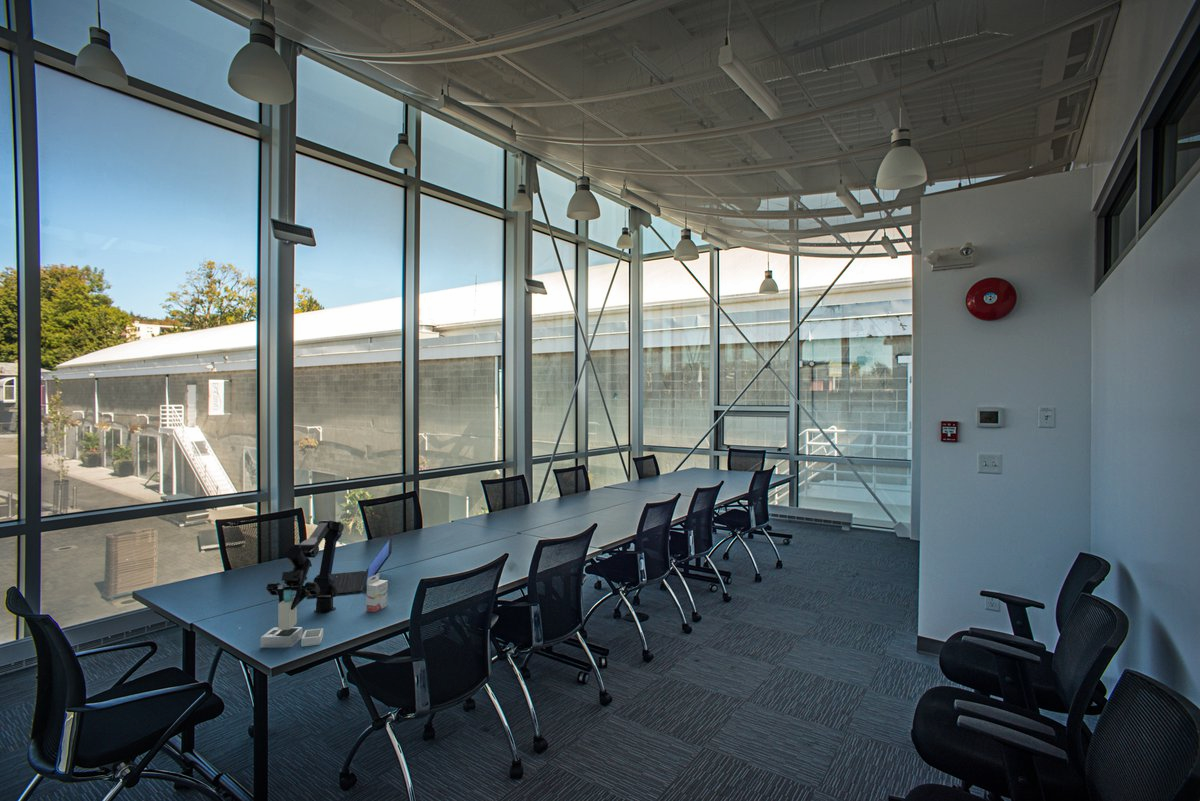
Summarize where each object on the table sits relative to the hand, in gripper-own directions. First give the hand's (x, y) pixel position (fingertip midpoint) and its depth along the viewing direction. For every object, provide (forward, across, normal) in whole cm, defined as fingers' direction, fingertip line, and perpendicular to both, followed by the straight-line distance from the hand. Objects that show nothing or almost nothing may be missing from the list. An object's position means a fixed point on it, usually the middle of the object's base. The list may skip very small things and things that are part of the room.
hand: (285, 609), depth 219 cm
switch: (+8, -2, +10) cm, 13 cm away
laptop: (-40, -2, +60) cm, 72 cm away
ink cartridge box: (-16, +22, +35) cm, 45 cm away
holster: (+8, +9, +11) cm, 16 cm away
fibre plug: (+4, 0, +6) cm, 7 cm away
